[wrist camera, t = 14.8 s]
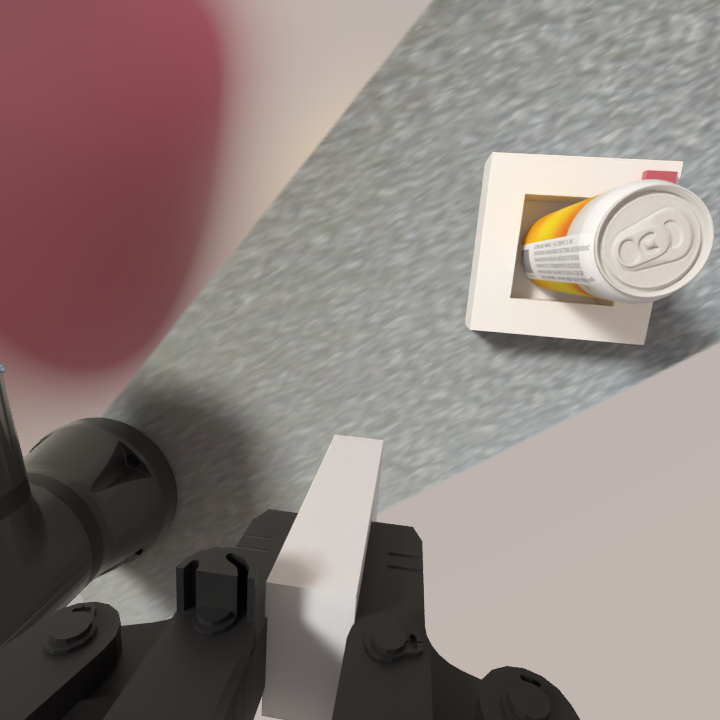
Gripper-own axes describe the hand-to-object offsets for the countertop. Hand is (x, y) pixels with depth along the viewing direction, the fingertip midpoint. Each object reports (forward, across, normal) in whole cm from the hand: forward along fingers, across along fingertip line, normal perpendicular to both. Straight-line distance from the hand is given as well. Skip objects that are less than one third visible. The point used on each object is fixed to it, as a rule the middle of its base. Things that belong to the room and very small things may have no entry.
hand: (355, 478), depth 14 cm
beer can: (+26, +12, +8) cm, 30 cm away
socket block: (+26, +12, +8) cm, 30 cm away
